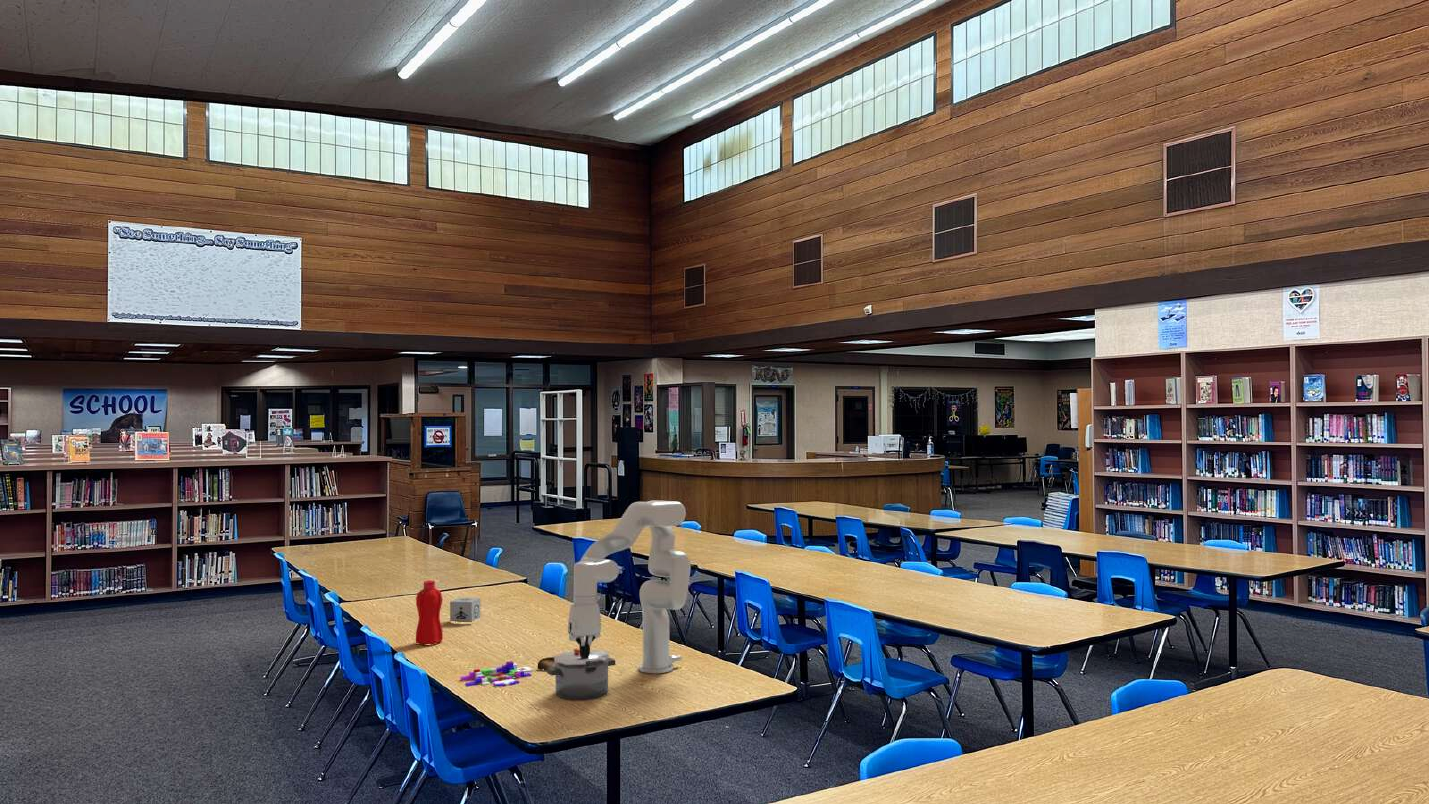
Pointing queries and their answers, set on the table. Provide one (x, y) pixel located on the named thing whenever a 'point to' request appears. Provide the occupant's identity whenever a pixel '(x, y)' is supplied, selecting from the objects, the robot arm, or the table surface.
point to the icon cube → (465, 609)
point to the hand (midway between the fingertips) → (584, 657)
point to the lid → (575, 658)
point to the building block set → (488, 674)
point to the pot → (581, 680)
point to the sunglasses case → (546, 663)
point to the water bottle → (429, 614)
